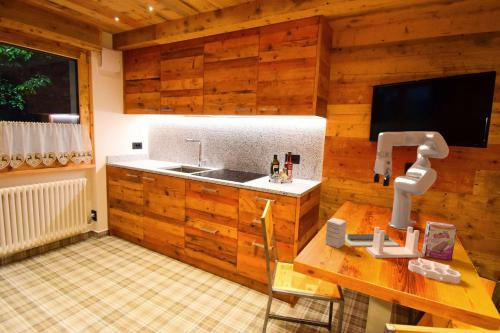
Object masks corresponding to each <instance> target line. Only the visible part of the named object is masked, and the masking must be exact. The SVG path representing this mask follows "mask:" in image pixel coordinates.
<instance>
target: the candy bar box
mask: <svg viewBox="0 0 500 333" xmlns="http://www.w3.org/2000/svg"><path fill="white" fill-rule="evenodd" d="M424 230H425V231H424V237H423V238H424V239H423V243H422V244H423V245H422V250H421V251H422V252H421V253H422V254H423V257H425V258H431V259H435V260H442V261H450V262H452V260H453V256H454V249H455V244H456V243H455V242H456V238H457V237H456V236H457V233H458V227H457V226H455V225H454V224H451V223H450V224H449V223H443V222H435V221H428V220H427V221H426V226H425V229H424Z"/></svg>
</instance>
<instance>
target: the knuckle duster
mask: <svg viewBox="0 0 500 333" xmlns="http://www.w3.org/2000/svg"><path fill="white" fill-rule="evenodd" d="M407 268H408V270H409V271H410V272H412V273H416V274H418V275H420V276H422V277H425V278H427V279H433V280H435V281H438V282H446V283H447V282H448V283H452V284H453V285H454V284H455V285H458V284H460V283H461V279H462V275H461V273H460V272H458V271H457V270H454V269H452V268H451V266H450V265H449V264H443V263H440V262H436V261H434V260H433V261H432V260H428V259H424V258H422V257H417V259H416V260H415V259H410V260H409V261H408V266H407Z"/></svg>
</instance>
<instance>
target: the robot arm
mask: <svg viewBox="0 0 500 333" xmlns="http://www.w3.org/2000/svg"><path fill="white" fill-rule="evenodd" d="M401 146H403V147H404V146H407V147H409V146H410V147H412V146H413V147H414V146H418V147H417V150H416V151H417V152H416V153H417V154H416V161H415V162H414V163H413V164H412V165H411V167H409V168H408V169H407V171H406V173H405V175H400V176H397V177H395V179H394V180H393V191H394V192H393V193H394V194H393V205H392V212H391V213H392V214H391V220H390V221H388V224H387V225H388V226H389V227H391V228H394V229H398V230H403V231H407V229H408V227H412V225H417V221H416V220H412V219H410V217H411V210H412V202H413V201H412V197H411V196H412V195H414V196H422V195H424V194H425V193H426V192H427V191H428V190H429V189H430V188H431V187H432V185H433V184H434V183H435V182H436V181H437V175H438V174H437V171H436V170H435V169H434V168H431V165H432V164H431V161H430V160H429V158H432V159H433V158H435V159H445V158H446V157H448V155H449V153H450V149H449V147H448V144H447V142H446V140H445V139H444V137H443V136H442V135H441V134H440V132H438V131H420V130H419V131H412V130H411V131H385V132H380V133H379V134H378V138H377V147H376V148H377V150H376V156H375V157H376V159H375V162H374V167H372V169H373V170H372V171H373V183H374V184H375V183H377V184H378V183H380V177H381V176H383V178H384V179H383V181H382V182H383V183H382V186H383V187H390V180H391V178H392V175H393V171H392V170H393V158H392V155H393V154H392V153H393V147H401ZM380 175H381V176H380Z"/></svg>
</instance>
